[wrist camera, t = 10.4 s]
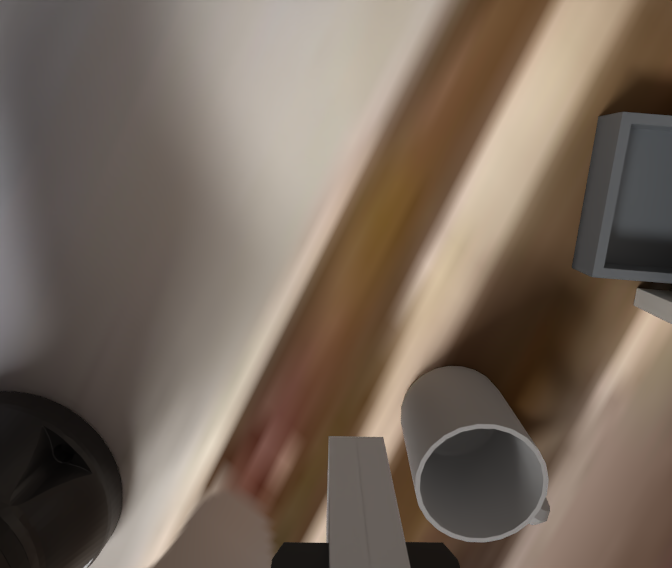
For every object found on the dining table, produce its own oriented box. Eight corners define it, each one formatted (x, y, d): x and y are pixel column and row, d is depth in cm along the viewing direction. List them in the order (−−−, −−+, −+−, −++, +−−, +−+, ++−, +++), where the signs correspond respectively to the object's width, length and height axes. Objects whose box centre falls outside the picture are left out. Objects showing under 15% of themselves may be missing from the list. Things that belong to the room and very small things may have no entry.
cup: (445, 342, 37) (476, 397, 28) (552, 427, 38) (613, 505, 29) (378, 417, 38) (387, 492, 29) (483, 497, 39) (522, 592, 30)
